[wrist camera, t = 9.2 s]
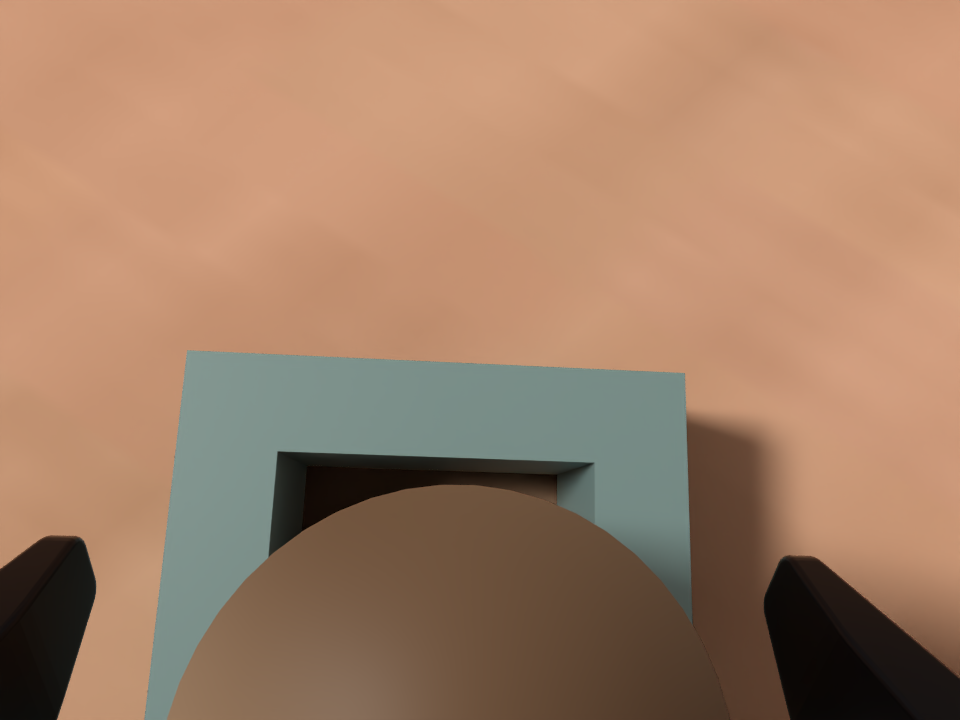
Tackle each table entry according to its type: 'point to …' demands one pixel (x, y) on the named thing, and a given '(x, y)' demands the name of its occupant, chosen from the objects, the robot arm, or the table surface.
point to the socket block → (402, 461)
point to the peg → (451, 622)
